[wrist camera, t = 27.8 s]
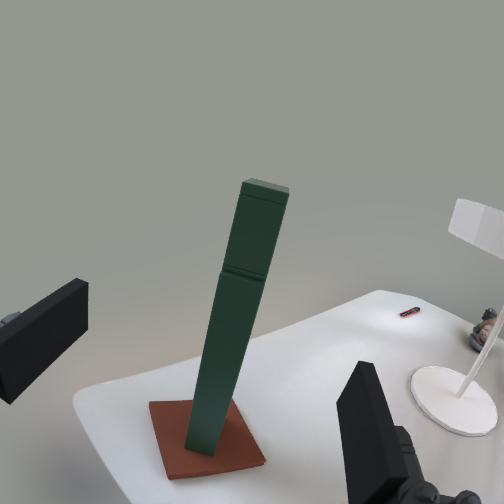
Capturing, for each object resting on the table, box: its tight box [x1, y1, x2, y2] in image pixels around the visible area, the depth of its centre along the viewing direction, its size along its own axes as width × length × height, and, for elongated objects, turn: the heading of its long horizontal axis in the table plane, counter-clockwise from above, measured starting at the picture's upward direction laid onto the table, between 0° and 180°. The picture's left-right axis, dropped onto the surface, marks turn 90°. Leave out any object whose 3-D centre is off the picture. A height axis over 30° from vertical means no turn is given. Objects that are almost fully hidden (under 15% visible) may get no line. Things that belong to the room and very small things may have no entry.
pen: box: [400, 307, 420, 316], centre depth 78 cm, size 2×14×1 cm, turn 127°
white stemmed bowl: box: [411, 199, 504, 437], centre depth 38 cm, size 30×30×31 cm
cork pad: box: [149, 399, 266, 480], centre depth 29 cm, size 10×10×1 cm
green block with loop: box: [184, 178, 289, 457], centre depth 25 cm, size 3×6×25 cm, turn 174°
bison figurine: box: [469, 308, 497, 351], centre depth 65 cm, size 12×7×10 cm, turn 135°
